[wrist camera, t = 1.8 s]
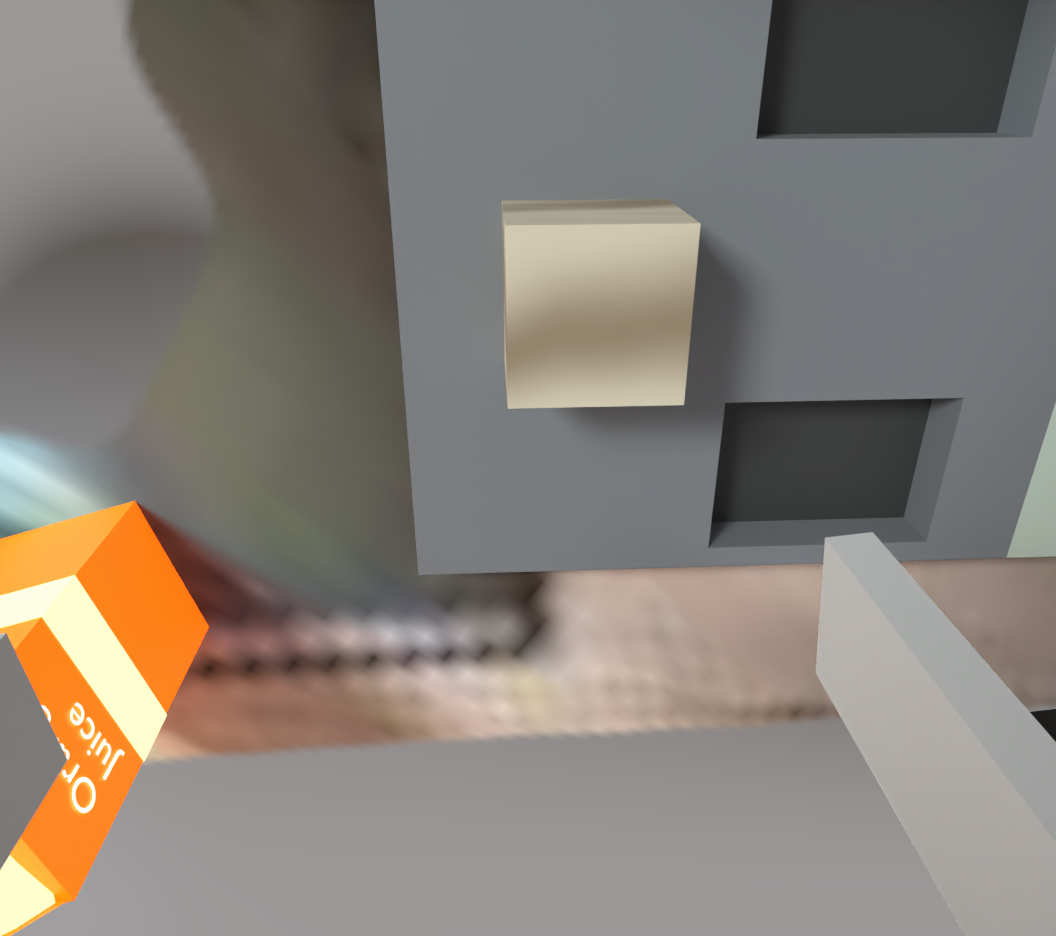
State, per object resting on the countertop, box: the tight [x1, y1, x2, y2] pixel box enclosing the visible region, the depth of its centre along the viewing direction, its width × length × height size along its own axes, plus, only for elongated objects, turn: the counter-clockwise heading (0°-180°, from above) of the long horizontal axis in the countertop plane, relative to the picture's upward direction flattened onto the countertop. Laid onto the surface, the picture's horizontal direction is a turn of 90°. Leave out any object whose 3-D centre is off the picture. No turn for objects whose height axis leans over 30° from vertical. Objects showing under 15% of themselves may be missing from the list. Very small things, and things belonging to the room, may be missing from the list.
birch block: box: [502, 199, 701, 409], centre depth 28 cm, size 6×6×5 cm
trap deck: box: [374, 0, 1056, 575], centre depth 31 cm, size 26×36×4 cm
